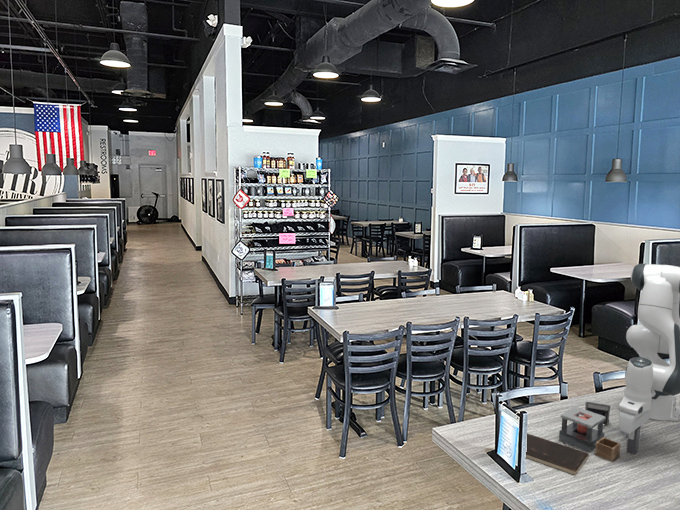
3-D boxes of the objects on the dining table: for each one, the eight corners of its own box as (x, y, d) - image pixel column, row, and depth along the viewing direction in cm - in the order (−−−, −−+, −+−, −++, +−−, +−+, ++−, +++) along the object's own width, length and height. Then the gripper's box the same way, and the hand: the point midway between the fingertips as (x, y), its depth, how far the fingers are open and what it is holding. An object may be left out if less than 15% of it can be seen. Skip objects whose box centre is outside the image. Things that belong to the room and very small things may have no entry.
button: (579, 427, 200) (580, 415, 199) (588, 431, 197) (589, 418, 197) (575, 430, 198) (576, 418, 197) (584, 434, 195) (585, 421, 194)
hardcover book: (575, 477, 175) (575, 471, 175) (510, 454, 190) (510, 448, 190) (588, 458, 187) (589, 452, 187) (526, 437, 202) (526, 432, 202)
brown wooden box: (602, 449, 192) (603, 437, 192) (619, 456, 188) (620, 443, 187) (594, 454, 188) (595, 442, 188) (612, 461, 184) (613, 449, 183)
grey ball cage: (573, 430, 207) (575, 406, 205) (603, 442, 197) (605, 416, 196) (558, 440, 199) (560, 414, 197) (589, 452, 190) (592, 426, 188)
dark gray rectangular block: (629, 449, 193) (632, 424, 191) (638, 452, 190) (640, 427, 189) (626, 451, 191) (628, 426, 189) (635, 454, 188) (637, 429, 187)
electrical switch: (608, 422, 214) (610, 402, 212) (609, 428, 210) (610, 408, 208) (584, 417, 218) (585, 398, 216) (584, 424, 214) (585, 404, 212)
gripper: (638, 391, 197) (635, 425, 199) (616, 406, 184) (613, 442, 186) (656, 397, 192) (653, 431, 194) (635, 412, 179) (632, 449, 181)
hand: (633, 436), depth 190 cm, fingers closed on dark gray rectangular block, 3 cm apart
